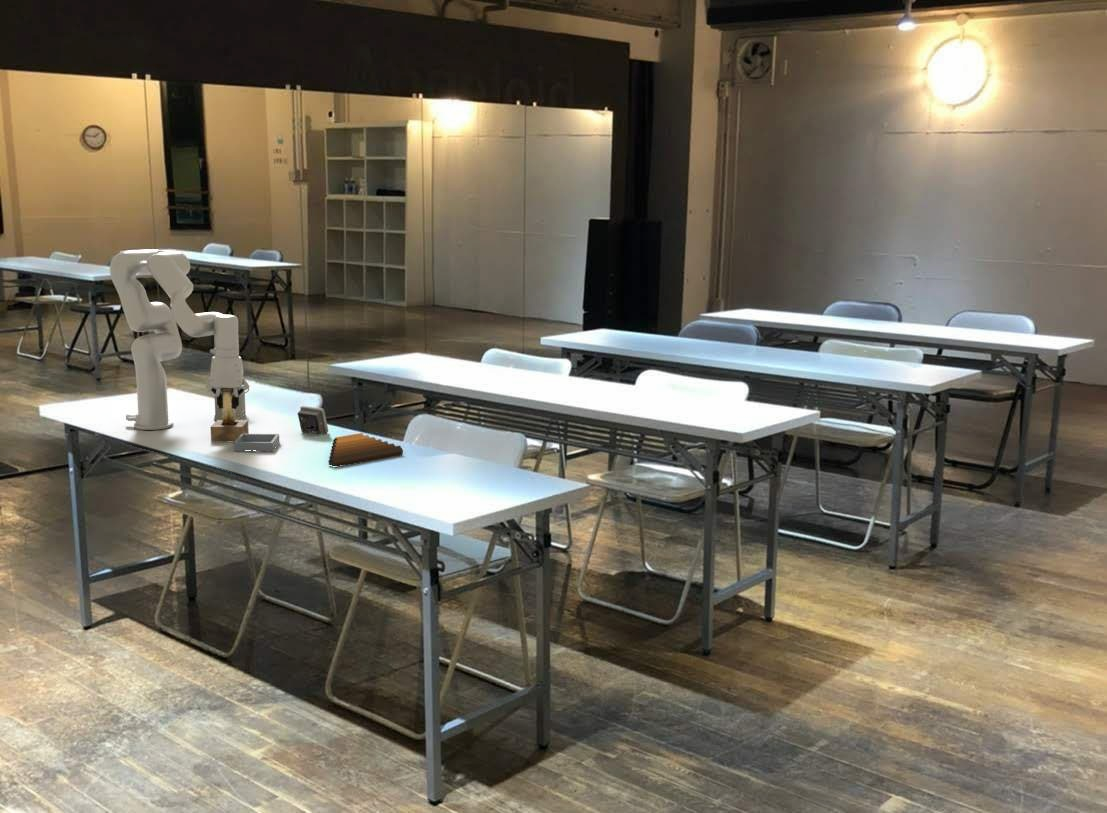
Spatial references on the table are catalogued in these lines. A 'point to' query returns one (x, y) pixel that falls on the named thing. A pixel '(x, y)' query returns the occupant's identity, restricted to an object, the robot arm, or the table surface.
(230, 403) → the brass pin
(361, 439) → the pan flute
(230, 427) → the brown square frame
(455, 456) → the table surface
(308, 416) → the electrical switch
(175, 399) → the table surface
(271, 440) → the parts tray
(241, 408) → the geiger counter
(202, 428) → the table surface
